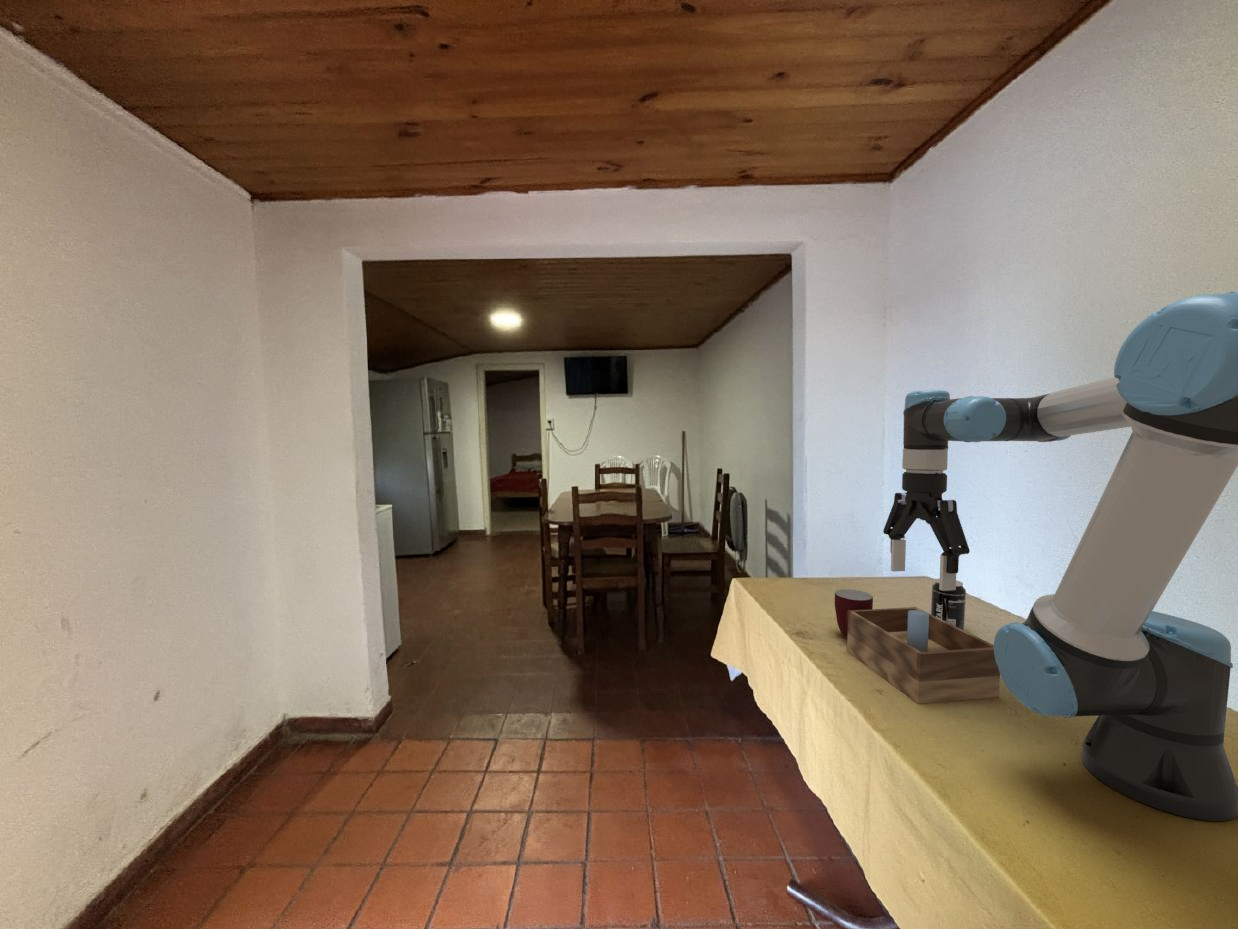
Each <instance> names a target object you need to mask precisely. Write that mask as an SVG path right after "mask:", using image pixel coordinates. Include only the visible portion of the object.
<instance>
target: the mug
mask: <svg viewBox="0 0 1238 929" xmlns="http://www.w3.org/2000/svg"><path fill="white" fill-rule="evenodd" d="M873 604H874V596H873V595H871V593H869V592H866V591H864V590H863V591H862V590H857V589H847V588H845V589H838V590H836V591H835V592H834V611H835V616H836V622H837V627H838V628H839V630H840V633H841V634H842V635H841V636H843V637H844V638H846V639H847V636H848V611H851V610H869V609H874V608H873V607H874V605H873Z"/></svg>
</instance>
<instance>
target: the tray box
mask: <svg viewBox="0 0 1238 929" xmlns="http://www.w3.org/2000/svg"><path fill="white" fill-rule="evenodd" d="M909 610H919V611H923V612H926V613H928V612H927V611H925V610H923V609H920V608H918V607H916V606H909V607H892V608H875V609H874V608H872V609H869V610H851V611H848V636H847V638H846V639H847V642H846V643H847V644H846V651H847V652H848V653H849V654H850V655H852V656H853V657H854V658H856V659H857V660H858V661H859V662H861V663H862V664H864V665H865V666H867V667H868V668H869V669H871V670H872V671H873V672H874V673H876V674H877V675H879V676H880V677H881V678H883V679H884V680H885V681H887V682H888V683H889V684H890V685H892V686H894V687H895V688H896V689H898V690H899V691H901V692H902V693H903V694H904V695H906V696H907V697H909V698H910V699H911V700H912V701H913V702H915V704H918V705H921V704H922V705H923V704H933V703H934V704H935V703H944V702H945V703H946V702H947V703H948V702H956V701H957V702H959V701H968V700H971V701H972V700H981V699H992V698H995V699H996V698H999V697H1000V686H1001V685H1000V684H1001V683H1000V682H1001V675H1000V672H999V669H998V666H997V664H996V661H995V656H994V643H993V644H992V643H990V642H988V641H986V640H984V639H983V638H980V637H978V636H976V635H975V634H972V633H970V632H968V631H965V629H964V630H962V629H960V628H958V627H956V626H954V625H952V624H950V623H947V622H945V621H943V620H941V619H939V618H937V617H935V616H933V615H931V613H928V614H929V630H928V651H927V652H920V651H919V650H917V649H915V648H914V647H912V646H910V645H909V644H907V628H908V611H909Z"/></svg>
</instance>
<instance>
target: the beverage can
mask: <svg viewBox="0 0 1238 929" xmlns="http://www.w3.org/2000/svg"><path fill="white" fill-rule="evenodd" d="M939 584H940V578H935V583H934V584H932V585H931V586H932V587H931V598H930V599H931V603H930V604H931V605H930V607H931V608H930V614H931V615H933V616H935V617H937V618H939V619H941V620H943V621H945V622H947V623H950V624H952V625H954V626H956V627H958V628H960V629H962V630H964V631H965V623H966V622H965V619H966V601H967V599H966V598H967V590H966V588H965V587H964V586H963V585H964V583H963V582H962V581H959V580H957V579H956V590H947V591H942V590H939Z"/></svg>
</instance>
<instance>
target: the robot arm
mask: <svg viewBox="0 0 1238 929" xmlns="http://www.w3.org/2000/svg"><path fill="white" fill-rule="evenodd" d="M1120 346H1121V347H1120V348H1119V350H1118V353H1117V355H1116V357H1115V361H1114V368H1113V375H1114V376H1113V377H1109V378H1105V379H1102V380H1097V381H1093V382H1089V383H1085V384H1081V385H1077V386H1073V387H1070V388H1065V389H1061V390H1058V391H1054V392H1050V393H1046V394H1041V395H1038V396H1034V397H1020V398H1018V397H1016V398H1012V397H1011V398H1010V397H990V396H989V397H988V396H979V395H977V396H974V395H973V396H972V395H971V396H964V397H959V398H951V394H950V393H949V391H947V390H944V389H943V390H941V389H935V390H933V389H931V390H930V389H929V390H917V391H916V390H914V391H910V392H908V393H907V394H906V395H905V398H904V400H905V401H904V409H903V438H902V439H903V444H902V445H903V449H902V463H901V464H902V465H901V467H902V469H903V470H905V471H904V472H903V473H902V475H901V477H902V478H901V479H902V480H901V489H902V491H904V492H895V493H894V499H893V504H892V507H891V510H890V511H889V515H888V517H887V520H886V522H885V525H884V528H883V534H884V535H887V536H888V538H889V539H890V547H889V548H890V556H891V557H890V571H891V572H905V571H906V552H907V551H906V550H907V540H906V536H905V535H906V534H907V533H908V531H909V529H910V528H911V527H912V526H913V524H914V523H915V522H916V520H917V519H919V520H920V521H925V523H926V524H927V525H929V526H930V529H931V530H932V532H933V534H934V536H935V537H936V539H937V542H938V543H939V546H940V547H941V549H942V551H943V552H942V553H941V554H940V555H939V556H940V557H939V558H940V562H939V579H940V584H939V590H942V591H947V590H956V580H957V574H958V573H959V565H960V564H959V562H960V560H959V558H960V556H962V555H968V554H969V553H970V548H969V545H968V540H967V539H966V535H965V532H964V530H963V526H962V523H961V521H960V517H959V514H958V507H957V505H958V504H957V501H956V500H955V499H944V500H943V494H944V493H946V492H947V489H948V474H947V473H945V471H947V470H948V460H949V459H948V456H949V455H948V453H949V452H948V450H949V441H950V442H963V443H981V442H1038V443H1048V442H1050V443H1052V442H1055V441H1056V442H1057V441H1064V440H1067V439H1069V438H1070V437H1071V436H1074V435H1075V436H1076V435H1082V434H1088V433H1097V432H1102V431H1110V430H1117V429H1124V428H1131V430H1132V431H1131V434H1130V436H1129V438H1128V439H1127V440H1128V441H1127V442H1126V445H1125V446H1124V449H1123V451H1122V453H1121V455H1120V457H1119V459H1118V460H1117V461H1118V462H1117V463H1116V465H1115V467H1114V469H1113V472H1112V474H1111V476H1110V478H1109V480H1108V482H1107V484H1106V487H1105V488H1104V491H1103V492H1102V494H1101V496H1100V499H1099V501H1098V502H1097V505H1096V507H1095V510H1094V511H1093V513H1092V516H1091V517H1090V520H1089V522H1088V524H1087V526H1086V528H1085V531H1084V532H1083V534H1082V536H1081V538H1080V541H1079V543H1078V544H1077V547H1076V549H1075V551H1074V553H1073V555H1072V557H1071V559H1070V561H1069V564H1068V566H1067V568H1066V570H1065V572H1064V574H1063V576H1062V578H1061V580H1060V583H1059V584H1058V586H1057V589H1056V591H1055V593H1053V594H1046V595H1042V596H1040V597H1038V598H1036V600H1035V601H1034V603H1033V605H1032V607H1031V610H1030V611H1029V614H1028V616H1027V618H1026V620H1025V621H1024V622H1021V623H1020V622H1018V621H1016V622H1010V623H1008V624H1004V625H1002V626H1001V627H1000V628H999V629H998V630H997V631H996V633H995V636H994V640H993V641H994V642H993V645H994V656H995V661H996V664H997V666H998V669H999V672H1000V678H1002V680H1003V682H1004V685H1005V686H1006V687H1007V689H1008V690H1009V692H1010V693H1011V694H1012V695H1013V696H1014V698H1015V699H1016V700H1017V701H1018V702H1019V703H1021V704H1022V705H1023V706H1024V707H1025V708H1027V709H1028V710H1030V711H1032V712H1034V713H1036V714H1039V715H1042V716H1048V717H1049V716H1051V717H1062V718H1064V719H1065V718H1066V719H1067V718H1069V719H1071V718H1074V717H1096V719H1095V721H1094V722H1093V724H1092V726H1091V727H1090V729H1089V730H1088V733H1087V734H1086V736H1085V738H1084V739H1083V741H1082V750H1081V760H1082V763H1083V765H1084V766H1085V767H1086V769H1087V770H1088V771H1089V772H1090V773H1091V774H1092V775H1093V776H1094V777H1096V778H1097V779H1098V780H1099V781H1101V782H1102V783H1104V784H1105V785H1106V786H1109V787H1110V788H1112V789H1113V790H1115V791H1117V792H1119V793H1120V794H1122V795H1124V796H1126V797H1128V798H1130V799H1133V800H1135V801H1137V802H1139V803H1142V804H1144V805H1146V806H1150V807H1152V808H1155V809H1157V810H1160V811H1163V812H1165V813H1169V814H1173V815H1176V816H1181V817H1185V818H1189V819H1194V820H1201V821H1211V822H1220V821H1221V822H1222V821H1228V820H1232V819H1235V818H1236V817H1237V816H1238V785H1237V783H1236V779H1235V776H1234V774H1233V770H1232V766H1231V764H1230V761H1229V758H1228V755H1227V752H1226V750H1225V746H1224V742H1225V740H1224V738H1225V731H1226V730H1225V729H1226V720H1227V709H1228V699H1229V689H1230V688H1229V687H1230V678H1231V669H1232V668H1234V665H1233V663H1232V645H1231V642H1230V640H1229V639H1228V638H1227V637H1226V636H1225V635H1224V634H1223V633H1222V632H1220V631H1218V630H1217V629H1215V628H1212V627H1210V626H1207V625H1204V624H1202V623H1198V622H1196V621H1193V620H1190V619H1185V618H1182V617H1178V616H1175V615H1171V614H1167V613H1163V612H1159V611H1154V608H1155V607H1156V605H1157V604H1158V602H1159V600H1160V598H1161V597H1162V595H1163V593H1164V592H1165V590H1166V588H1167V587H1168V585H1169V583H1170V581H1171V579H1172V578H1173V576H1174V575H1175V573H1176V572H1177V569H1178V568H1179V566H1180V564H1181V563H1182V561H1183V559H1184V558H1185V556H1186V554H1188V551H1189V550H1190V548H1191V546H1192V544H1193V542H1194V541H1195V539H1196V537H1197V536H1198V534H1199V533H1200V530H1201V529H1202V527H1203V526H1204V524H1205V523H1206V520H1207V519H1208V517H1209V516H1210V514H1211V512H1212V510H1213V509H1214V507H1215V505H1216V503H1217V502H1218V500H1219V498H1220V496H1221V495H1222V493H1223V492H1224V490H1225V488H1226V487H1227V485H1228V483H1229V481H1230V480H1231V478H1232V476H1233V475H1234V473H1235V471H1236V469H1237V468H1238V291H1235V290H1233V291H1229V292H1222V293H1215V294H1214V293H1211V294H1207V293H1206V294H1200V295H1195V296H1189V297H1185V298H1182V299H1179V300H1176V301H1173V302H1172V303H1171V302H1170V303H1169V304H1167V305H1166V306H1164V307H1162V308H1161V309H1158V310H1156V311H1154V312H1153V313H1151V314H1149V315H1148V316H1147V317H1145V318H1144V319H1143V320H1142V321H1141V322H1139V324H1137V326H1136V327H1134V328H1133V329H1132V330H1131V332H1130V333H1129V334H1128V336H1126V338H1125V339H1124V342H1123V343H1122V345H1120Z"/></svg>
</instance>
